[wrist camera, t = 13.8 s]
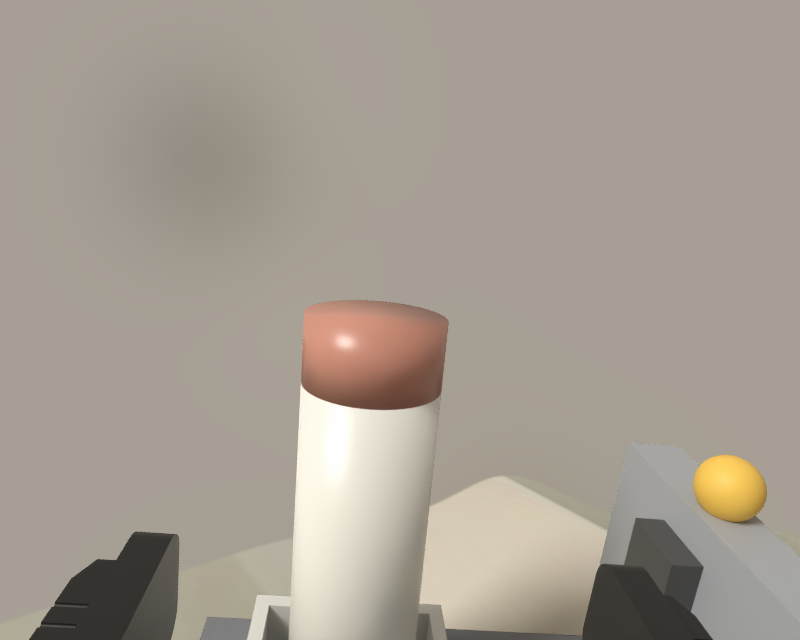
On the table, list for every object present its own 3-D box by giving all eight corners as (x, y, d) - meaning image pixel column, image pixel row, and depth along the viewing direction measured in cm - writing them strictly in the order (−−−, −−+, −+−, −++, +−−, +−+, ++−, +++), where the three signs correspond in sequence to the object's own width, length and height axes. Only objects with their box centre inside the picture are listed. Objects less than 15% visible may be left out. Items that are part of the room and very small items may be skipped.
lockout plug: (347, 659, 23) (374, 295, 19) (430, 726, 20) (476, 321, 17) (259, 725, 20) (273, 308, 16) (343, 814, 17) (380, 342, 14)
